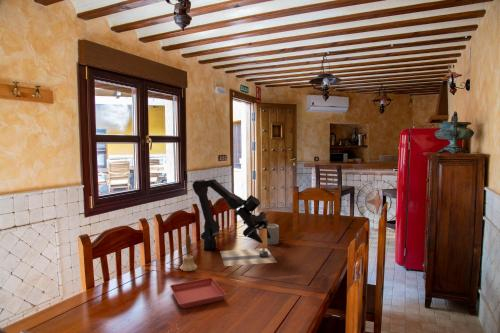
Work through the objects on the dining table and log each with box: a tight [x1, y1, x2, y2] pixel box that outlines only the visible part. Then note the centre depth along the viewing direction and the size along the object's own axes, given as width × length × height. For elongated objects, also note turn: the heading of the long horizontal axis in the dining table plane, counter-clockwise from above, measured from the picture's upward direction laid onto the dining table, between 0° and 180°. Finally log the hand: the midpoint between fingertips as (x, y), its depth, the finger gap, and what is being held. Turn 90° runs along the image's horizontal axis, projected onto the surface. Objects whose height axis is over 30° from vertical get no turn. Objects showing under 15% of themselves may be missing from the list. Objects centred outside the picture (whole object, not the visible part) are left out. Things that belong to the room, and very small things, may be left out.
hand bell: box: [179, 234, 198, 272], centre depth 167 cm, size 8×8×16 cm
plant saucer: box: [169, 277, 227, 309], centre depth 137 cm, size 18×18×3 cm
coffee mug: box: [267, 223, 280, 246], centre depth 210 cm, size 13×10×10 cm
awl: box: [258, 229, 268, 258], centre depth 180 cm, size 5×5×14 cm
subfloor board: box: [219, 247, 278, 267], centre depth 181 cm, size 26×23×1 cm
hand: (266, 240), depth 179 cm, fingers open, 9 cm apart
